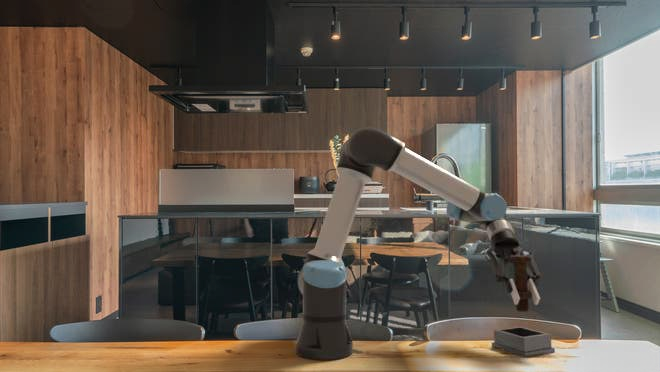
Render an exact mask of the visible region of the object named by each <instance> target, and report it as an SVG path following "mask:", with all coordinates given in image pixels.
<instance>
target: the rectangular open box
mask: <svg viewBox="0 0 660 372" xmlns="http://www.w3.org/2000/svg"><path fill="white" fill-rule="evenodd" d="M493 336H494V337H493V338H494V341H493V342H491V347H492V346H494V347H493V348H495V347H497V348H496V349H498V348H500V350H502V349H503V350H502V351H505V352H508V353H512V354H514V355H516V356H517V355H518V356H520V357H523V358H529V357H534V356H540V355H545V354H546V355H547V354H551V353H555V352H556V350H555V347H552V334H550V333H548V332H543V331H539V330H536V329H532V328H531V329H530V328H527V327H522V326H514V327H505V328H498V329H493Z"/></svg>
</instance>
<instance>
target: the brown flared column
mask: <svg viewBox="0 0 660 372" xmlns="http://www.w3.org/2000/svg"><path fill="white" fill-rule="evenodd" d="M509 261H511V262H513V263H512V264H513V269H514V270H513V271H514V273H513V274H514V284H515V286H516V289H517V292H518V294H519V297H520V300H519V302H518V305H515V307H516V308H515V309H516V311H517V312H523V313H526V312H529V310H530V306H529V304H530V303H529V300H531V299H532V297H531V292H530V291H529V289H528V287H527V284H528V281H527V277H526V275H527V271H526V270H527V266H528V264H527V262H531V257H530V256H524V255H512V256H509Z"/></svg>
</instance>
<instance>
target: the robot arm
mask: <svg viewBox="0 0 660 372" xmlns="http://www.w3.org/2000/svg"><path fill="white" fill-rule="evenodd" d="M376 168H379V169H381V170H383V171H385V172H387V173H388V172H391V171H392V172H394V173H396V174H398V175H400V176H401V177H403V178H405V179H407V180H408V181H410V182H412V183H414V184H415V185H418V186H419V187H422V188H423V189H425V190H427V191H429V192H430V193H432V194H434V195H436V196H438V197H440V198H442V199H443V200H445V201H447V205H446V210H445V211H446V215H447V216H448V217H447V218H450V219H451V220H455V221H458V222H459V221H460V222H464V223H469V224H475V225H477V226H483V227H484V228H485V231H486V232H487V236H488V238H489V239H488V240H489V241H490V245H491V247H492V250H493V251H491V250H487V251H486V255H485V259H486V260H487V262H489V265H490V268H491V271H492V274H493V277H494V279H495V282H497V283H501V284H502V285H503V286H504V287H505V290H506V292H507V294H508V293H509V294H510V295H511V298H512V300H513V304H514V305H515V306H516V305H518V302H519V300H520V297H519V294H518V292H517V289H516V285H515V280H514V279H513V278H510V269H509V264H513V262H511V261H509V256H512V255H524V256H530V257H531V262H527V270H526V271H527V275H526V277H527V283H528V284H527V287H528V291H530V292H531V299H532V301H533V304H534V305H535V306H537V305H539V303H540V300H541V296H540V294H539V291H540V287H539V284H538V283H539V282H540V280H541V278H542V274H541V272H540V270H539V267H538V264H537V263H536V261H535V258H534V251H532V250H528V251H525V250H523V248H521V247H520V244H519V243H520V242H519V241H518V238H517V236H516V234H515V231H514V229H513V227H512V224H511V223H510V220H509V217H508V215H507V207H508V206H507V205H508V204H507V201H506V200H505V199H504V197H503V196H501V195H499V194H496V193H487V192H485V191H483V190H482V189H479V188H477V187H476V186H474V185H472V184H471V183H469V182H468V181H465V180H463V179H461V178H460V177H458V176H456V175H454V174H453V173H451V172H449V171H448V170H446V169H444V168H441V167H440V166H438V165H437V164H435V163H433V162H432V161H430V160H428V159H426V158H424V157H423V156H421V155H419V154H417V153H416V152H414V151H412V150H410V149H409V148H406V145H405V143H404V142H403V141H402V140H400V139H398V138H396V137H394V136H393V135H391V134H388V133H387V132H385V131H383V130H380V129H378V128H374V127H363V128H359V129H357V130H356V131H354V132H353V133H352V134H351V135H350V137H349V138H347V140H346V141H344V143H343V144H342V146H341V148H340V151H339V160H338V163H337V165H336V169H335V170H336V173H337V174H338V178H337V181H336V184H335V187H334V190H333V193H332V195H331V198H330V201H329V204H328V208H327V210H326V213H325V216H324V219H323V223H322V226H321V229H320V231H319V234H318V237H317V241H316V243H315V247H314V248H313V249H312V250H309V251H308V252H307V255H306V257H305V261H304V264H303V266H302V268H301V269H300V271H299V272H298V275H297V287H298V290H299V293H300V294H301V295H302V323H301V326H300V329H299V334H298V336H297V340H296V343H295V353H296V354H297V356H300V357H302V358H306V359H309V360H311V359H312V360H320V361H321V360H323V361H324V360H325V361H326V360H338V359H343V358H347V357H349V356H351V355H353V352H354V344H353V343H354V342H353V339H352V336H351V333H350V330H349V329H350V328H349V327H348V323H347V278H348V275H347V269H346V266H345V263H344V261H343V259H342V256H343V253H344V250H345V247H346V244H347V241H348V238H349V235H350V231H351V227H352V225H353V223H354V222H353V221H354V219H355V215H356V213H357V209H358V207H359V204H360V200H361V197H362V194H363V191H364V188H365V185H366V184H368V183H370V182H371V181H372V178H373V176H374V173H375V170H376ZM497 259H499V260H500V261H501V262H500V263H501V265H500V266H499V263H498V261H497ZM500 267H501V269H500Z"/></svg>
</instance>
